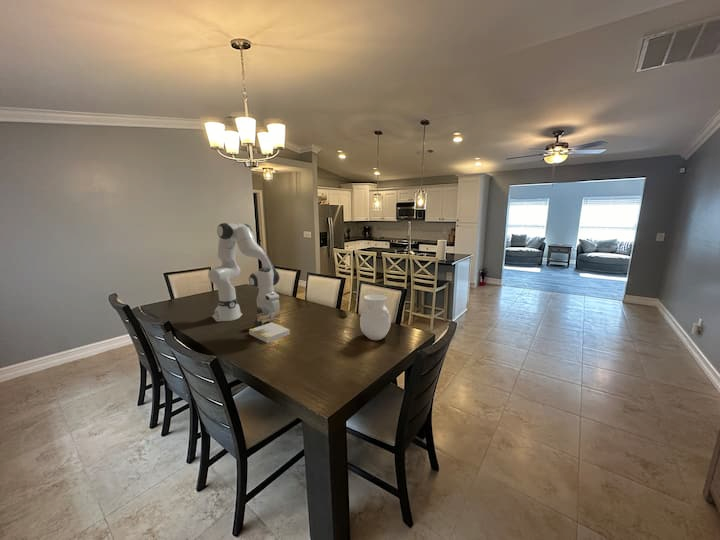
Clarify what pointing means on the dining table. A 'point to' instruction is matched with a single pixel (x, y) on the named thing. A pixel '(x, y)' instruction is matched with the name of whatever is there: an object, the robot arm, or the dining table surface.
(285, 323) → the dining table surface
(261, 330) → the dock
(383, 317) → the white vase
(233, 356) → the dining table surface
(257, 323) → the phone stand
